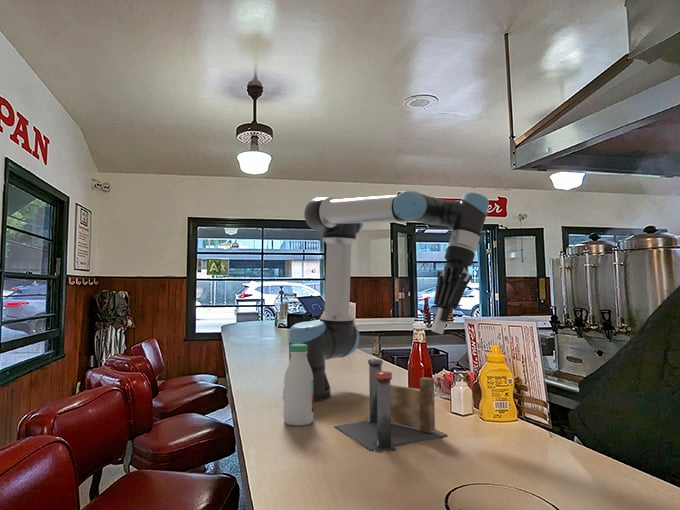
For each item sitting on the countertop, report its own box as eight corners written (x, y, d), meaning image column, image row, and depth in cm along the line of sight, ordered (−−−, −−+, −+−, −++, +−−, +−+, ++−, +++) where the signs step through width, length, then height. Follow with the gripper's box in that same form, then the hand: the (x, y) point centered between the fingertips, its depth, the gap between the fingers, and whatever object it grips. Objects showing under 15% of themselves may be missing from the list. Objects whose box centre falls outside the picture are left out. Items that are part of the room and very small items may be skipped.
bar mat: (334, 427, 113) (334, 425, 113) (404, 416, 122) (404, 414, 122) (370, 450, 97) (370, 449, 97) (447, 436, 106) (447, 434, 106)
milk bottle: (309, 427, 113) (309, 346, 114) (279, 425, 115) (280, 346, 116) (316, 418, 121) (316, 342, 122) (289, 416, 122) (289, 342, 123)
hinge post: (366, 419, 120) (366, 359, 121) (383, 419, 120) (382, 358, 121) (368, 424, 115) (367, 361, 116) (385, 424, 115) (384, 361, 116)
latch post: (373, 444, 101) (372, 371, 102) (392, 444, 101) (392, 370, 102) (375, 451, 97) (374, 375, 98) (395, 451, 97) (394, 374, 98)
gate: (380, 421, 115) (379, 373, 116) (385, 419, 117) (385, 371, 118) (431, 433, 106) (430, 380, 107) (436, 430, 108) (435, 378, 109)
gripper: (437, 245, 127) (412, 325, 124) (465, 243, 115) (439, 332, 112) (458, 253, 130) (435, 332, 127) (488, 253, 118) (463, 340, 115)
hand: (437, 332), depth 120 cm, fingers closed
